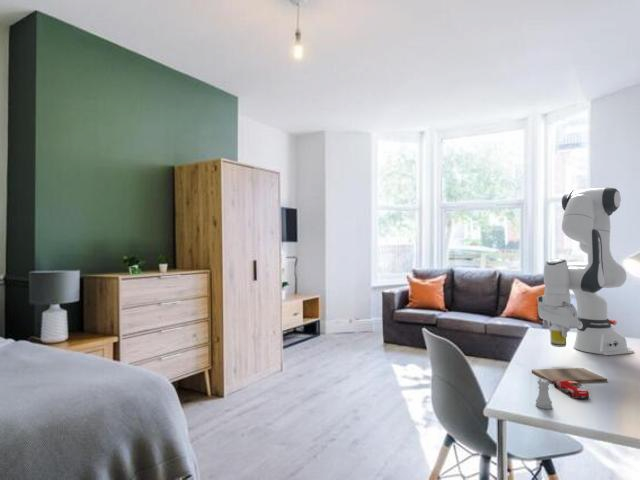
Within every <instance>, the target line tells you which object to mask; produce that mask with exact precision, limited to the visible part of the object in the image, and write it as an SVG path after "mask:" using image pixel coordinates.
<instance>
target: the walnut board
mask: <svg viewBox="0 0 640 480" xmlns="http://www.w3.org/2000/svg"><path fill="white" fill-rule="evenodd" d="M531 373H532V374H534V375H536V376H537V377H539V378H541V379H542V380H543V379H545V380H546V379H547V380H548V382H549V383H550V385H551V384H553V385H554V382H555V381H556V380H571V381H576V382H578V383H580V384H581V383H608V378H606V377H604V376H602V375H600V374H597V373H596V372H593V371H591V370H588V369H586V368H584V367H576V368H575V367H573V368H543V369H542V368H541V369H540V368H539V369H531Z"/></svg>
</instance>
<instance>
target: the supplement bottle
mask: <svg viewBox="0 0 640 480" xmlns="http://www.w3.org/2000/svg"><path fill="white" fill-rule="evenodd" d="M552 325H553V326H551V327H550V328H549V332H550V333H549V335H550V337H549V338H550V345H551V346H553V347H555V348H565V347H566V346H567V337H562V336H560V332H562V326H561V325H558V324H556V323H555V322H553V321H552Z"/></svg>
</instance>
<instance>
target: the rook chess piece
mask: <svg viewBox="0 0 640 480" xmlns="http://www.w3.org/2000/svg"><path fill="white" fill-rule="evenodd" d="M537 384H538V385H539V386H538V396H537V397H536V399H535V406H536V407H537V408H540V409H542V410H551V409H553V405H552V404H553V402H552V400H551V398H550V396H549V390H550V388H549V386H550V385H551V383H550V382H548V380H547V379H546V380H545V379H543V378H541V377H539V378H538V381H537Z"/></svg>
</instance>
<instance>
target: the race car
mask: <svg viewBox="0 0 640 480" xmlns="http://www.w3.org/2000/svg"><path fill="white" fill-rule="evenodd" d="M553 386H554V388H556V389H558V390H559V391H561V392H563V393H564V394H566V395H568V397H570V398H573V399H579V400H581V399H590V393H589V390H588V389H587V388H586V387H584V386H583V384H581V383H578V382H576V381H571V380H556V381H555V382H554V384H553Z"/></svg>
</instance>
